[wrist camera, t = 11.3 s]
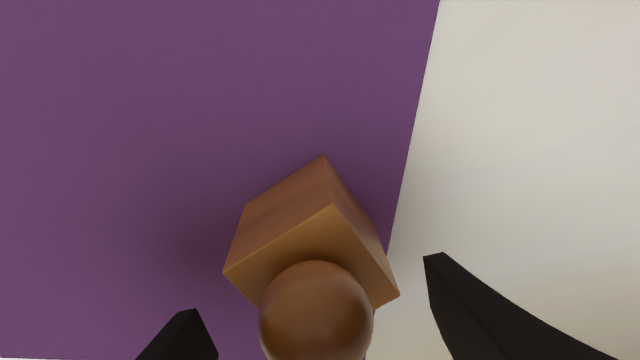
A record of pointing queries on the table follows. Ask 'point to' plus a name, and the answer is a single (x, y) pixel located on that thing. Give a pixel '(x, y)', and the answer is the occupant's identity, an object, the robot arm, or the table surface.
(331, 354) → the wooden knob on block
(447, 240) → the table surface
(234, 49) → the felt cloth
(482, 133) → the table surface
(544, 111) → the table surface
